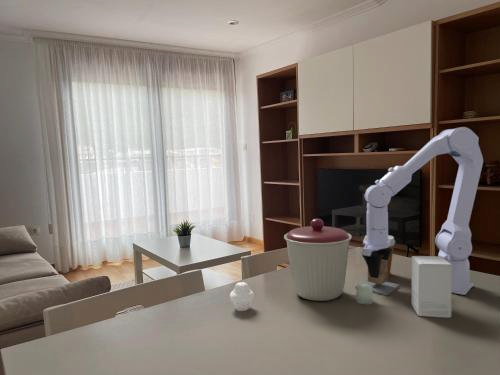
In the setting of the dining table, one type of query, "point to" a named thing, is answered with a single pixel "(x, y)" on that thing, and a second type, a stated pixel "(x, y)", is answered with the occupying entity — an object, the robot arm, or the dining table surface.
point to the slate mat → (382, 287)
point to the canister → (318, 260)
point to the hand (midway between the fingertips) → (377, 275)
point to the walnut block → (380, 274)
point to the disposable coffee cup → (390, 255)
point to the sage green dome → (364, 294)
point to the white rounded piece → (241, 296)
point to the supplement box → (431, 286)
